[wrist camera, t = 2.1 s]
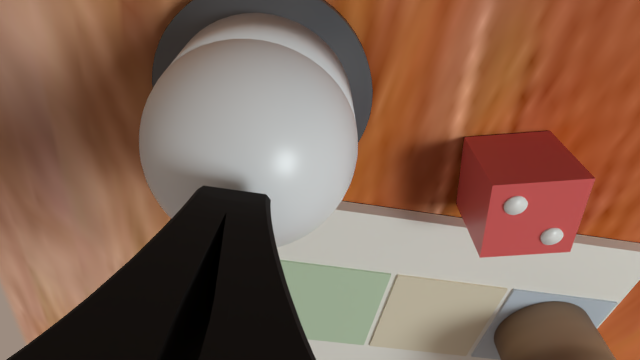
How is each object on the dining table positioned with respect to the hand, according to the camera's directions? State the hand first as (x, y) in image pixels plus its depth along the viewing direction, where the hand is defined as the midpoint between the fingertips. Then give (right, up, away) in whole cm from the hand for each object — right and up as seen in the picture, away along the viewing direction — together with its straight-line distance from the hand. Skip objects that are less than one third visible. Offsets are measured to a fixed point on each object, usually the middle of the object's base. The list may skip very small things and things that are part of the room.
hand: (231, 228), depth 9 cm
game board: (+7, -5, +12) cm, 15 cm away
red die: (+9, +1, +7) cm, 11 cm away
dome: (0, +3, +5) cm, 6 cm away
